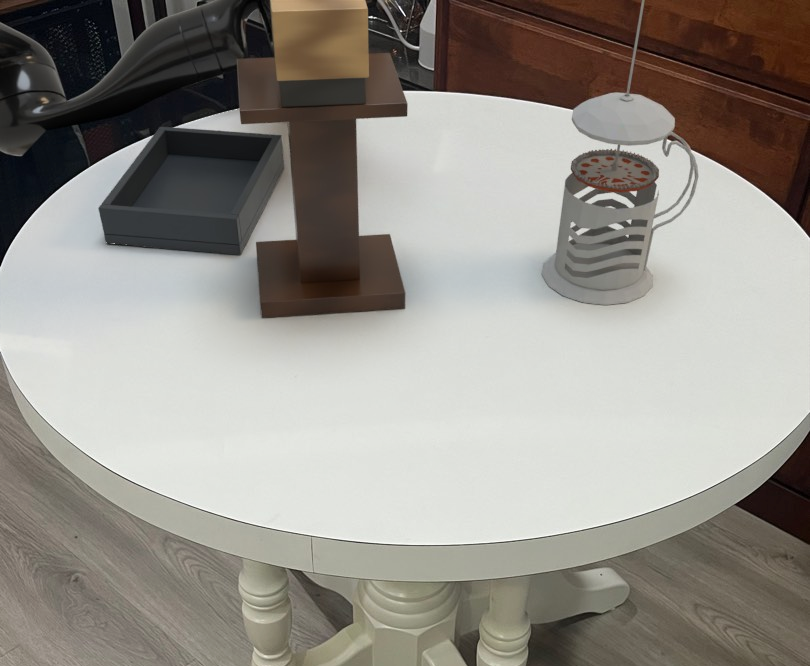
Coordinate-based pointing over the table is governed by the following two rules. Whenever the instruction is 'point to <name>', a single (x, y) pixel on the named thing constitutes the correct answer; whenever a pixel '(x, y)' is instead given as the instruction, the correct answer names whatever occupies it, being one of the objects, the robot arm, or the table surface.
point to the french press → (620, 173)
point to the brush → (320, 51)
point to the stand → (324, 200)
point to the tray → (194, 190)
